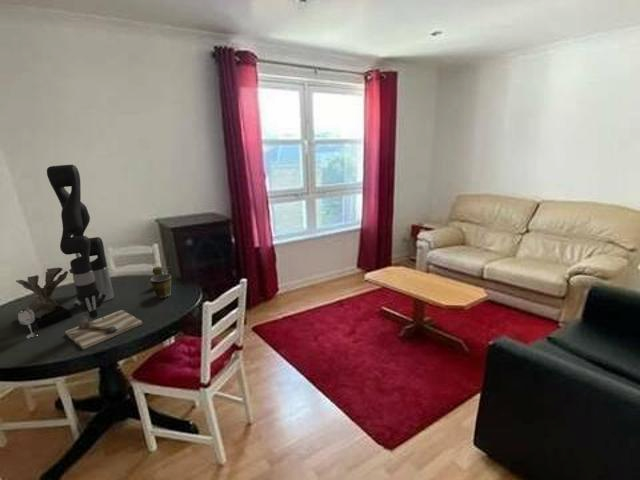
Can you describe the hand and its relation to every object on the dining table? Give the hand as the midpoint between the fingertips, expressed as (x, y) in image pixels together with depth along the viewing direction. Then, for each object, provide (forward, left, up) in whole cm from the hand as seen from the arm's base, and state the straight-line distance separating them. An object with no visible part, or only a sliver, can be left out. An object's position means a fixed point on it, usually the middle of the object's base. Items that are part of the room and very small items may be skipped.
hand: (94, 317), depth 161 cm
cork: (-21, +41, -5) cm, 47 cm away
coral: (-34, -8, -5) cm, 35 cm away
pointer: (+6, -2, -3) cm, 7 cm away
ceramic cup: (-8, +35, -5) cm, 37 cm away
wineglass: (-17, -20, -5) cm, 26 cm away
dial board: (+5, +1, -5) cm, 7 cm away
